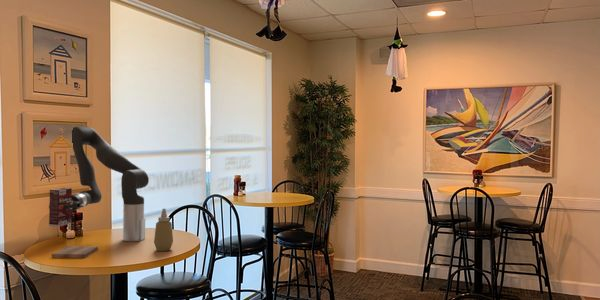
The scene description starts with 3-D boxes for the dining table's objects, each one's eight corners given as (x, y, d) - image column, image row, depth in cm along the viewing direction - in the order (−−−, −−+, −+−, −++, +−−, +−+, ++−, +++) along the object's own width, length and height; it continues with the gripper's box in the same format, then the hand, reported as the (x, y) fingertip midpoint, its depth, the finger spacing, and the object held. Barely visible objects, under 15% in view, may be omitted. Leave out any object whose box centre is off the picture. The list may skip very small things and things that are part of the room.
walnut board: (97, 250, 196) (98, 246, 196) (84, 258, 183) (84, 254, 183) (67, 249, 195) (67, 246, 195) (51, 257, 182) (51, 254, 182)
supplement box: (58, 227, 196) (58, 190, 195) (48, 226, 197) (48, 189, 196) (72, 223, 204) (72, 188, 204) (62, 222, 205) (62, 187, 205)
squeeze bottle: (176, 248, 201) (177, 208, 201) (165, 253, 193) (166, 210, 193) (161, 246, 204) (161, 206, 203) (149, 251, 196) (150, 209, 196)
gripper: (59, 193, 214) (40, 198, 197) (90, 194, 215) (74, 199, 198) (59, 209, 214) (40, 216, 198) (90, 209, 215) (74, 216, 198)
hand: (57, 207), depth 198 cm, fingers closed on supplement box, 5 cm apart
